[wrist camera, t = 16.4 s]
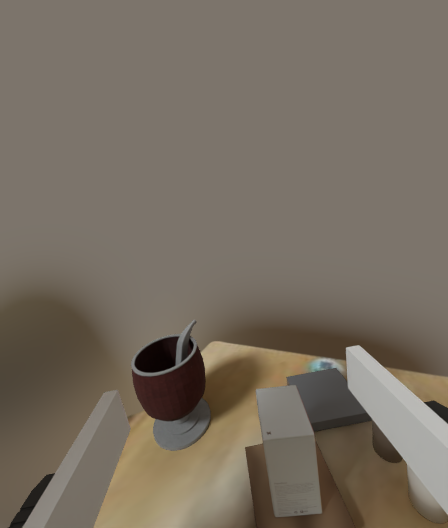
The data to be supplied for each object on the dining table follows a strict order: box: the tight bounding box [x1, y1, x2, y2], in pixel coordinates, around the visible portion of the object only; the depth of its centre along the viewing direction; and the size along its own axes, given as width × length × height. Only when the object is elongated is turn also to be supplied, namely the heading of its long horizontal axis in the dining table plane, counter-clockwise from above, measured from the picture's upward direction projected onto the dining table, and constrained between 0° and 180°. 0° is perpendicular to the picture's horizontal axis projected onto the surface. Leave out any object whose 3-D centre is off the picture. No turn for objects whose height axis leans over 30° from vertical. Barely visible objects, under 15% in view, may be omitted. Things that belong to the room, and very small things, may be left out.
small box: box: [256, 385, 322, 517], centre depth 31 cm, size 8×6×13 cm
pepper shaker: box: [372, 419, 403, 463], centre depth 35 cm, size 4×4×8 cm
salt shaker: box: [407, 464, 448, 524], centre depth 29 cm, size 4×4×8 cm
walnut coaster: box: [245, 440, 356, 528], centre depth 33 cm, size 12×12×2 cm
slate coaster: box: [286, 368, 372, 431], centre depth 47 cm, size 12×12×2 cm
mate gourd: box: [131, 320, 211, 451], centre depth 46 cm, size 16×14×20 cm
